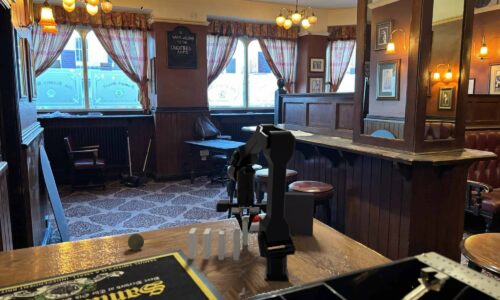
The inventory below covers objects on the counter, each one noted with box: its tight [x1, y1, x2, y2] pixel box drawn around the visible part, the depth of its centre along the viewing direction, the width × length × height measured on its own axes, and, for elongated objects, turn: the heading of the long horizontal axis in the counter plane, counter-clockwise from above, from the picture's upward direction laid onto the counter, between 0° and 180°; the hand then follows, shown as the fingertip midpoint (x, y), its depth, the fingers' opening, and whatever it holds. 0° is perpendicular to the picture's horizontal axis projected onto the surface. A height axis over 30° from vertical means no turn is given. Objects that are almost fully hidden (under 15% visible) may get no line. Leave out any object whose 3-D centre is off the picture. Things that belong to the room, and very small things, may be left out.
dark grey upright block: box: [284, 191, 315, 237], centre depth 137 cm, size 11×4×15 cm, turn 84°
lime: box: [127, 233, 145, 251], centre depth 122 cm, size 4×5×5 cm
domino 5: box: [241, 216, 249, 246], centre depth 126 cm, size 5×2×8 cm, turn 177°
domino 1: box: [188, 227, 198, 260], centre depth 117 cm, size 5×2×8 cm, turn 177°
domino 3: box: [217, 228, 227, 261], centre depth 117 cm, size 5×2×8 cm, turn 177°
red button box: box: [242, 215, 263, 233], centre depth 146 cm, size 12×4×10 cm
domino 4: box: [232, 228, 241, 261], centre depth 116 cm, size 5×2×8 cm, turn 177°
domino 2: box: [202, 227, 212, 260], centre depth 117 cm, size 5×2×8 cm, turn 177°
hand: (245, 231), depth 126 cm, fingers closed on domino 5, 2 cm apart
